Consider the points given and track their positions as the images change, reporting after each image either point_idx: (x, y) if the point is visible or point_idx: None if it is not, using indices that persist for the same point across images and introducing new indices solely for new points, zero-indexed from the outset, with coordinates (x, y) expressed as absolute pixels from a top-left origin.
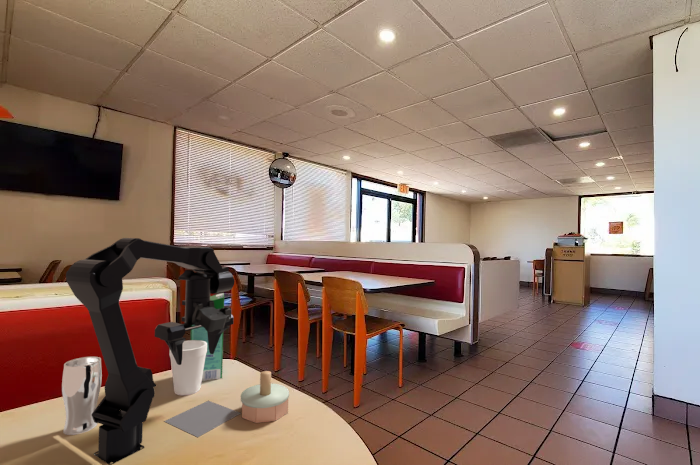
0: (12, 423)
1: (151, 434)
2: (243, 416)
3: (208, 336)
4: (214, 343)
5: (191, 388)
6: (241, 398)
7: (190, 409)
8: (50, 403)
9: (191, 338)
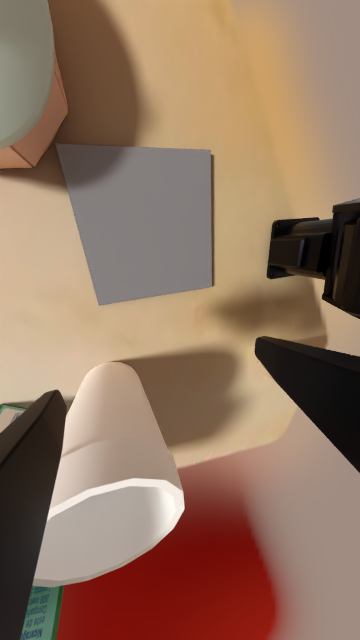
0: (291, 412)
1: (239, 266)
2: (65, 96)
3: (22, 599)
4: (9, 459)
5: (115, 371)
6: (47, 73)
7: (153, 293)
8: (253, 441)
9: (58, 600)
